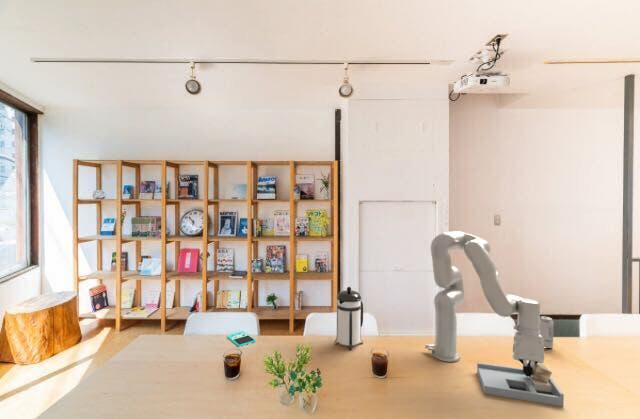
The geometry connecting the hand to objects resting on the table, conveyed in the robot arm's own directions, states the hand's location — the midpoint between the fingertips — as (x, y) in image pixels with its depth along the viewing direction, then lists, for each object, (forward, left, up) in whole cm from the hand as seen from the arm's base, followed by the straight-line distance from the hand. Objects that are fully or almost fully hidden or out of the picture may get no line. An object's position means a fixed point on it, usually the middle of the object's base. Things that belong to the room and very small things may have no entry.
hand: (527, 374), depth 130 cm
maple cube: (+4, 0, 0) cm, 4 cm away
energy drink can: (+20, +42, -4) cm, 47 cm away
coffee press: (-77, +16, -4) cm, 79 cm away
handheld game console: (-133, +3, -5) cm, 133 cm away
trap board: (-5, -4, -4) cm, 7 cm away
